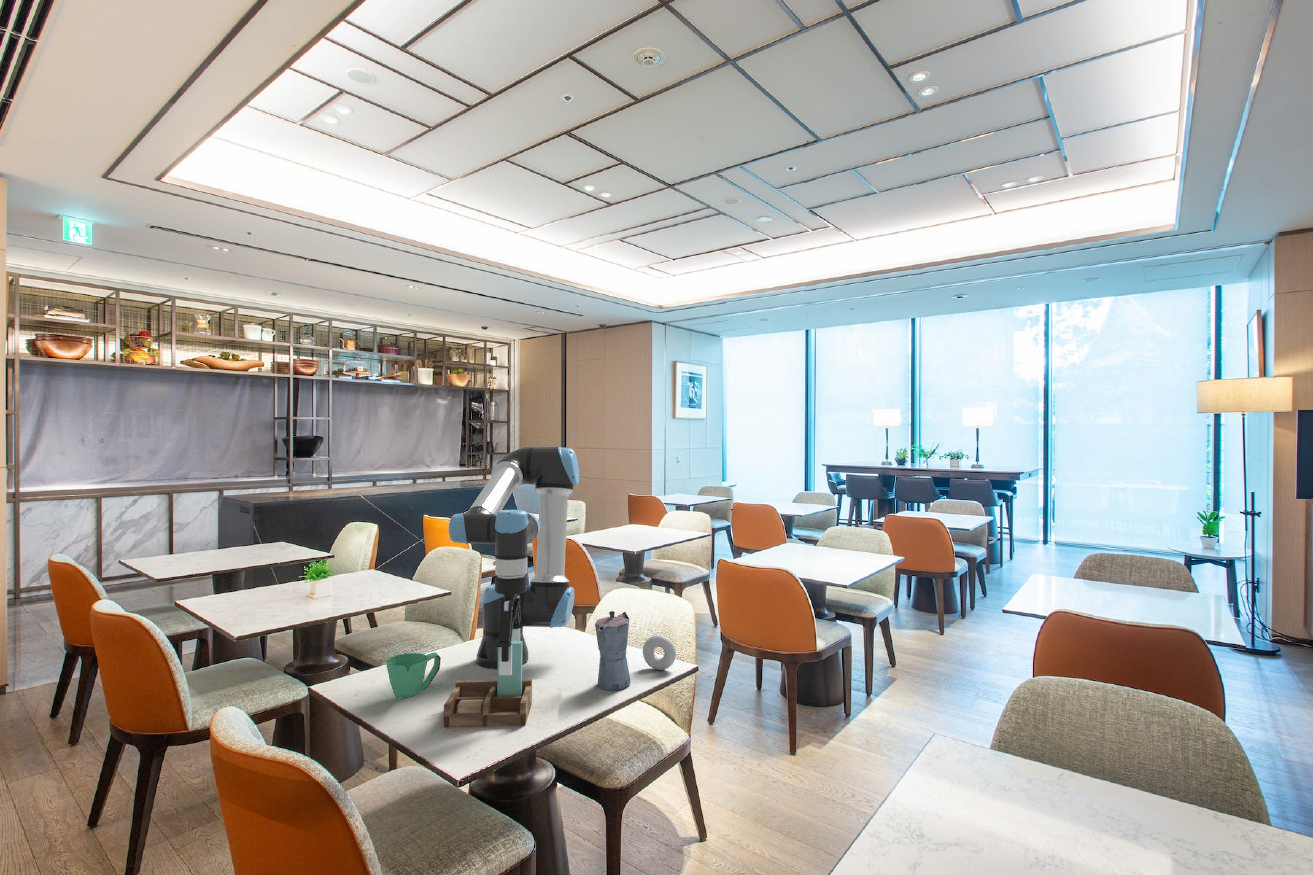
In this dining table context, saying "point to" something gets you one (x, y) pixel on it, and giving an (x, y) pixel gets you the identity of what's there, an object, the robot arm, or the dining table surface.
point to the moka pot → (613, 651)
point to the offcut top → (470, 706)
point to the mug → (410, 673)
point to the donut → (651, 657)
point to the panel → (512, 683)
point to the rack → (488, 705)
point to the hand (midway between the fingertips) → (510, 664)
